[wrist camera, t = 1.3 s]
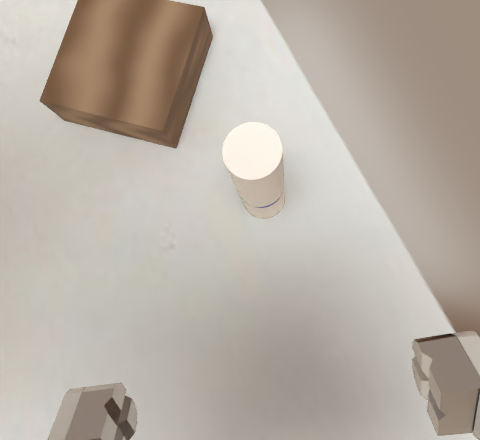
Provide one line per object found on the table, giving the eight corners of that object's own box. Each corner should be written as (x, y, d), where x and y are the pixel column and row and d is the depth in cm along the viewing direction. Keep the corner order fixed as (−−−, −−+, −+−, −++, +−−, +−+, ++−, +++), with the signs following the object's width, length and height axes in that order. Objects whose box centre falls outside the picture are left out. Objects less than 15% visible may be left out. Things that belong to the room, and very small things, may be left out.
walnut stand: (64, 120, 48) (39, 100, 43) (103, 14, 50) (84, -16, 45) (176, 148, 46) (163, 130, 41) (212, 36, 48) (204, 7, 43)
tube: (253, 173, 45) (237, 113, 30) (290, 188, 44) (292, 134, 29) (237, 209, 44) (212, 166, 29) (274, 224, 43) (267, 189, 29)
